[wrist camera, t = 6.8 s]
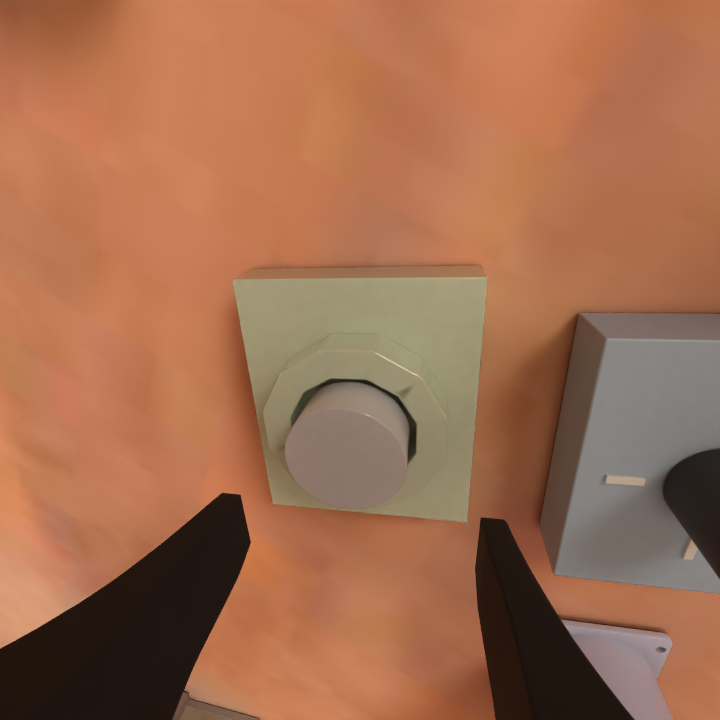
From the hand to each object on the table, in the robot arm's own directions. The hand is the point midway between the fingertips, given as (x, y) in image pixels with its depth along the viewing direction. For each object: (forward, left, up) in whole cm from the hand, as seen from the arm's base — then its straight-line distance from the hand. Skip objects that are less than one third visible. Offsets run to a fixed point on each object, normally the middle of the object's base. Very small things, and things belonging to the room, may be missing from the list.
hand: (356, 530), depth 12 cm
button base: (0, +1, -9) cm, 9 cm away
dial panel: (-2, -13, -9) cm, 16 cm away
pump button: (0, +1, -5) cm, 5 cm away
